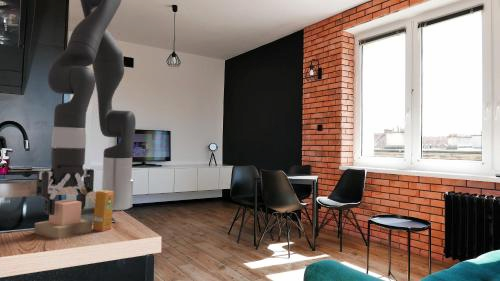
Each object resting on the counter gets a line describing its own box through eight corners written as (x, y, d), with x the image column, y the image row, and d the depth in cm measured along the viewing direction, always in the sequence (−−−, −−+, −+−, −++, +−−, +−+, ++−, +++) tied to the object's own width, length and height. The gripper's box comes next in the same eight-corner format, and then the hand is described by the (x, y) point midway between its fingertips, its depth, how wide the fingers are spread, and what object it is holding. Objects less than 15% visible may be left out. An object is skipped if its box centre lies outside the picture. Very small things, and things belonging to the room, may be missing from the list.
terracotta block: (67, 218, 90) (68, 199, 90) (80, 221, 88) (81, 201, 88) (48, 222, 86) (49, 202, 86) (62, 225, 83) (63, 204, 83)
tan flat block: (68, 228, 93) (68, 216, 93) (91, 233, 89) (92, 221, 89) (34, 235, 85) (34, 223, 85) (58, 241, 81) (59, 228, 81)
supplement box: (103, 231, 89) (105, 192, 89) (92, 230, 90) (94, 191, 90) (112, 228, 92) (114, 190, 92) (101, 227, 93) (103, 189, 93)
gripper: (83, 145, 95) (80, 206, 95) (30, 144, 82) (26, 214, 82) (103, 147, 92) (99, 209, 92) (51, 146, 79) (47, 219, 79)
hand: (65, 211), depth 87 cm, fingers open, 7 cm apart
